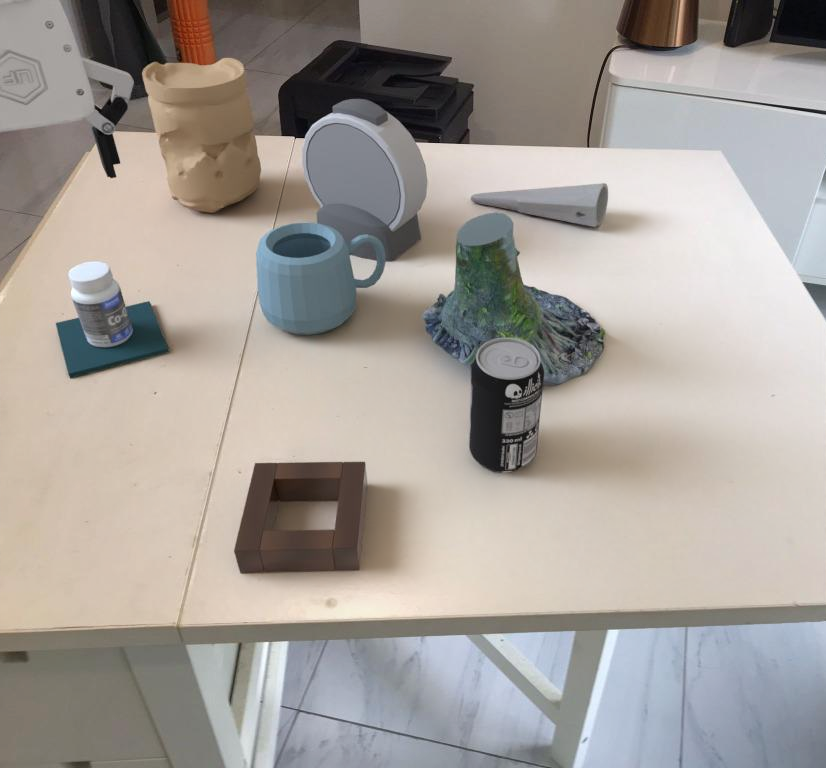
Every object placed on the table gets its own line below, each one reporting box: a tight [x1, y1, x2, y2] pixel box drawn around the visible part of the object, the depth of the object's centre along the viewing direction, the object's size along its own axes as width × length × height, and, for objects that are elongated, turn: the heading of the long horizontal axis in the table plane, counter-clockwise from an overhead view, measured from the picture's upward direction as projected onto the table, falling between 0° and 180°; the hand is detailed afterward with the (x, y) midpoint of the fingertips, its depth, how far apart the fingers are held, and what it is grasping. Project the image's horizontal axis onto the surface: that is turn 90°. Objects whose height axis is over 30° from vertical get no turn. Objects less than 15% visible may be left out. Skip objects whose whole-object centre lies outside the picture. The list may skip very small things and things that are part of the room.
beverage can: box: [468, 338, 544, 473], centre depth 75 cm, size 7×7×12 cm
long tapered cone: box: [470, 182, 609, 228], centre depth 116 cm, size 6×6×19 cm
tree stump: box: [422, 212, 606, 387], centre depth 88 cm, size 18×20×18 cm
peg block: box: [233, 461, 368, 574], centre depth 70 cm, size 10×10×3 cm
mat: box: [55, 300, 170, 379], centre depth 89 cm, size 10×10×1 cm
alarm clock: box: [301, 98, 429, 262], centre depth 103 cm, size 16×10×18 cm, turn 63°
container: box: [141, 57, 262, 214], centre depth 109 cm, size 13×13×18 cm
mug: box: [255, 222, 386, 336], centre depth 92 cm, size 15×11×10 cm
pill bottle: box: [67, 260, 133, 347], centre depth 86 cm, size 5×5×8 cm
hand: (52, 181), depth 72 cm, fingers open, 9 cm apart
